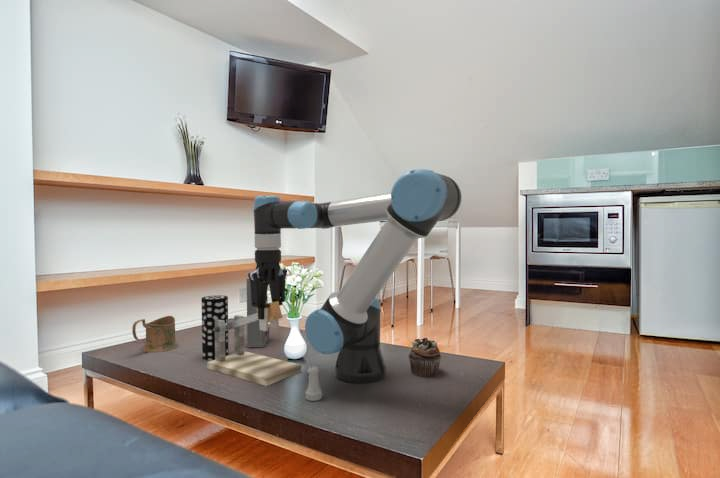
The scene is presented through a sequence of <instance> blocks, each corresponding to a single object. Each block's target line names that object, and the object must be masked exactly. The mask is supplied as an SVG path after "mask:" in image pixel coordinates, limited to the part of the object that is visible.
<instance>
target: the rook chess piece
mask: <svg viewBox="0 0 720 478" xmlns="http://www.w3.org/2000/svg"><path fill="white" fill-rule="evenodd" d="M320 371H321V369H320V368H319V365H317V364H316V365H314V364H312V365H309V366H308V369H307V370H306V372H307V373H308V376H307V377H308V384H307V388H306V390H305V392H304V394H305V396H304V397H305V399H306V401H309V402H317V401H320V400H322V398H323V390H322V389H321V387H320V381H319V379H320V374H319V373H320Z"/></svg>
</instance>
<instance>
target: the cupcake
mask: <svg viewBox="0 0 720 478" xmlns="http://www.w3.org/2000/svg"><path fill="white" fill-rule="evenodd" d="M411 343H412V347H411V350H410V352H409V353H408V360H409V365H410V371H411V372H410V373H411V374H413V375H416V376H418V377H424V378H425V377H434V376H437V375H438V374H439V369H440V364H441V361H442V360H441V359H442V357H441V354H440V349H439V347H438V342H437V341H435V340H430V339H428V338H427V337H424V338H422V339H421V338H417V339H414V340H413V342H411Z"/></svg>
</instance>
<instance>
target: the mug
mask: <svg viewBox="0 0 720 478" xmlns="http://www.w3.org/2000/svg"><path fill="white" fill-rule="evenodd" d="M141 322H142V323H141ZM138 323H141V324H142V327H143V328H144V329H145V339H140V338H138V336H137V332H136V331H137V329H136V327H137V324H138ZM131 331H132V336H133V338H134V339H135V340H136V341H139V342H141V343H142V342H143V343H144V344H145V345H144V346H143V348H142V351H143V352H145V353H163V352H169V351H172V350H175V349H177V348H178V347H179V344H178V342H176V318H175V317H174V316H173V315H165V316H163V317H159V318H157V319H155V320H152V321H150V322H147V323H146V319H144V318H141V319H138V320H136V321H134V323H133V324H132V330H131Z"/></svg>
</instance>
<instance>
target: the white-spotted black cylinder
mask: <svg viewBox="0 0 720 478" xmlns="http://www.w3.org/2000/svg"><path fill="white" fill-rule="evenodd" d="M215 320H224V321H225V323H229V298H228V296H227V295H222V294H221V295H208V296H207V295H206V296H202V297H201V341H202V342H201V344H202V345H201V348H202V349H201V350H202V352H201V353H202V354H201V355H202V357H201V358H202V360H204V361H212V360H215V331H214V327H215ZM229 349H230V348H229V330H228V331H225V356H229Z"/></svg>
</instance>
